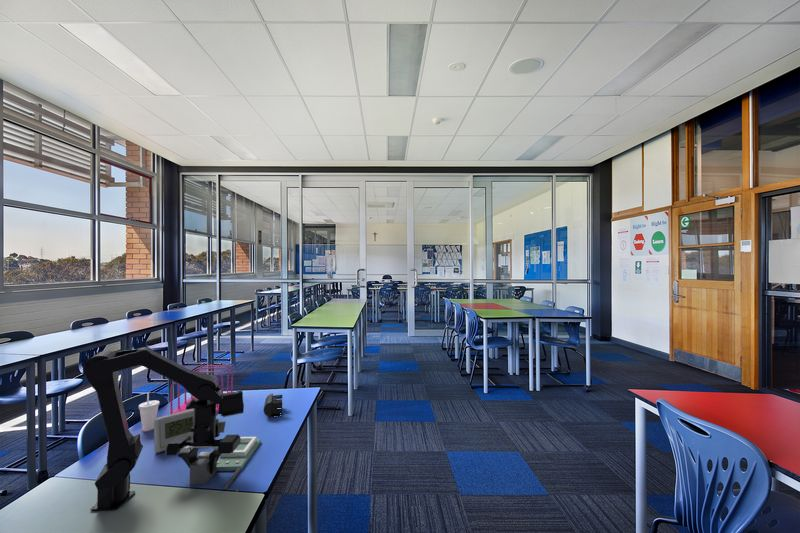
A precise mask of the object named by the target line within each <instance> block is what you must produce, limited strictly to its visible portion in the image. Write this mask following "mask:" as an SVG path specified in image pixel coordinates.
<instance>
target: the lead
mask: <svg viewBox="0 0 800 533" xmlns="http://www.w3.org/2000/svg"><path fill="white" fill-rule="evenodd" d="M241 471H242V470H241V467H238V469H237V470H234V473H233V474H232V475H231V476H230V478H229V480H228V481H227V482H226V484H225V485H224V487H223V489H224V490H227V489H228V488H229V487H230V486H231V485H232V483H233V482H234V480H235V479H236V477H237V476H238V475H239V473H240V472H241Z"/></svg>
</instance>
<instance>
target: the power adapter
mask: <svg viewBox="0 0 800 533" xmlns="http://www.w3.org/2000/svg"><path fill="white" fill-rule="evenodd" d="M277 408H282V409H277ZM280 413H281V414H280ZM263 414H264V415H265V416H266V417H268V418H270V417H273V418H275V417H274V416H280V415H282V416H283V394H276V395H275V394H274V393H270V394H268V395H267V396H266V398H265V401H264V406H263ZM280 417H281V416H280Z"/></svg>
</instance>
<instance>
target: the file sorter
mask: <svg viewBox="0 0 800 533" xmlns="http://www.w3.org/2000/svg"><path fill="white" fill-rule="evenodd" d="M227 367H229V368H230V369H231V380H230V381H231V382H230V381H229V378H230V372H229V369H228V368H227ZM214 369H215V370H214ZM216 369H217V370H216ZM219 369H224V370H225V371H226V372H227V377H226V378H227V380H226V392H227V393H231V392H235V391H234V390H233V386H234V385H233V383H234V381H233V380H234V368H233V366H232V365H230V364H214V365H213V364H209V365H208V364H207V365H201V366H200V367H197V368H195V369H193V371H196V372H200V370H209V371H201V372H202V373H205V374H209V373H210V375H211V373H218V374H220V378H221V379H220V380H221V390H222V391H223V392H224V376H223V373H222V372H221V371H219ZM211 376H213V377H215V379H216V384H217V386H218V387H219V379H218V377H217V376H216V375H211ZM229 383H231V384H229ZM176 384H177V408H176V409H175V410H173V387H174V385H176ZM229 385H230V391H229ZM180 387H181V385H180V384H178V383H176V382H173V383H172V384H171V386H170V395H169V398H170V403H169V404H170V406H169V407H170V414H173V413H177V412H181V411H185V410H189V409H186V405H187V403H188V402H189V401H191V399H192V398H193V397H194V396H192V395H191V394H190V397H189V398H188V399H187V390H186V389H185V388H184V387H183V388H184V392H183V394H184V395H183V396H184V402H183V403H182V404H181V402H180V401H181V399H180V395H181V388H180ZM223 394H225V393H223ZM194 398H195V397H194ZM195 399H196V398H195ZM197 400H198V399H197ZM180 404H181V405H180ZM218 413H219V404H216V414H218Z"/></svg>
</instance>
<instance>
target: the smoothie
mask: <svg viewBox="0 0 800 533" xmlns="http://www.w3.org/2000/svg"><path fill="white" fill-rule="evenodd" d="M146 397H147V398H146V401H145V402H142V403H140V404H139V405H138V410H139V413H140V420H141V421H140V423H141V428H142V429H141V430H142V431H143V432H149V431H153V430H154V420H155V419H156V418H158V417H157V415H158V410H159V406H160V401H159V400H158V399H157V400H156V399H155V400H150V392H147V396H146Z"/></svg>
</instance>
